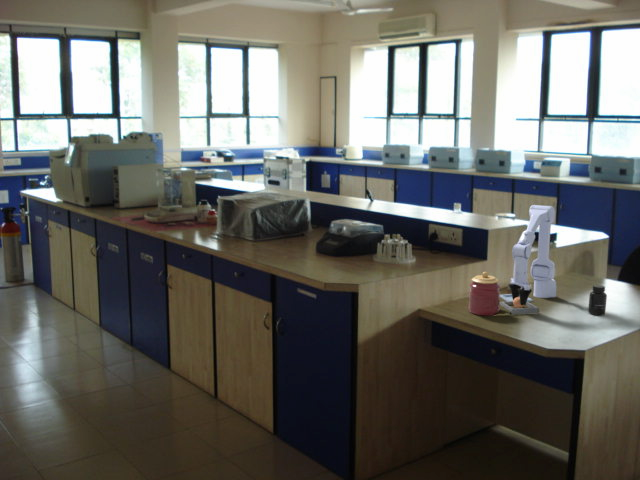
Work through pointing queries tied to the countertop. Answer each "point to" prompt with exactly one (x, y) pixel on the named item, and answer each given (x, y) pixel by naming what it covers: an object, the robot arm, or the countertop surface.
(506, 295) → the dish
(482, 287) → the canister
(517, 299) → the ball
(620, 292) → the countertop surface
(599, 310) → the supplement bottle
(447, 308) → the countertop surface
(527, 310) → the tray
